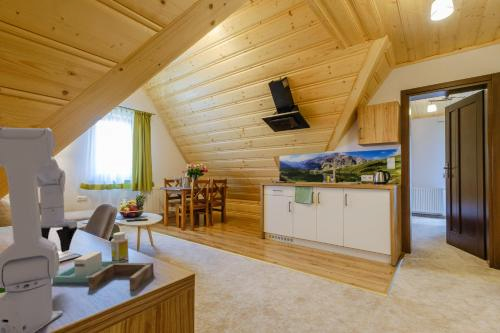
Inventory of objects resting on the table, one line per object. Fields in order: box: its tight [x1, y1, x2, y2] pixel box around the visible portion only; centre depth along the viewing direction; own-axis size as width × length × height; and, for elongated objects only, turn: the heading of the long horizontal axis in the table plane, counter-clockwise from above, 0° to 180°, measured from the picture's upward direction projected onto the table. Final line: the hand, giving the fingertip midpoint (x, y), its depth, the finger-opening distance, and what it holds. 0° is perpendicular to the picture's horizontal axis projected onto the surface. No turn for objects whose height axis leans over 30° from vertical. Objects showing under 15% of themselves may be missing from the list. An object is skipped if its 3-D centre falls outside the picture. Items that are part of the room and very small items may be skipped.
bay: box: [88, 262, 155, 291], centre depth 76 cm, size 10×14×4 cm
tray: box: [52, 260, 119, 285], centre depth 82 cm, size 13×13×2 cm
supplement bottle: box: [110, 231, 129, 263], centre depth 93 cm, size 6×6×10 cm
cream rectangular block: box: [73, 251, 103, 276], centre depth 82 cm, size 8×4×6 cm, turn 173°
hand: (54, 251), depth 78 cm, fingers open, 7 cm apart
